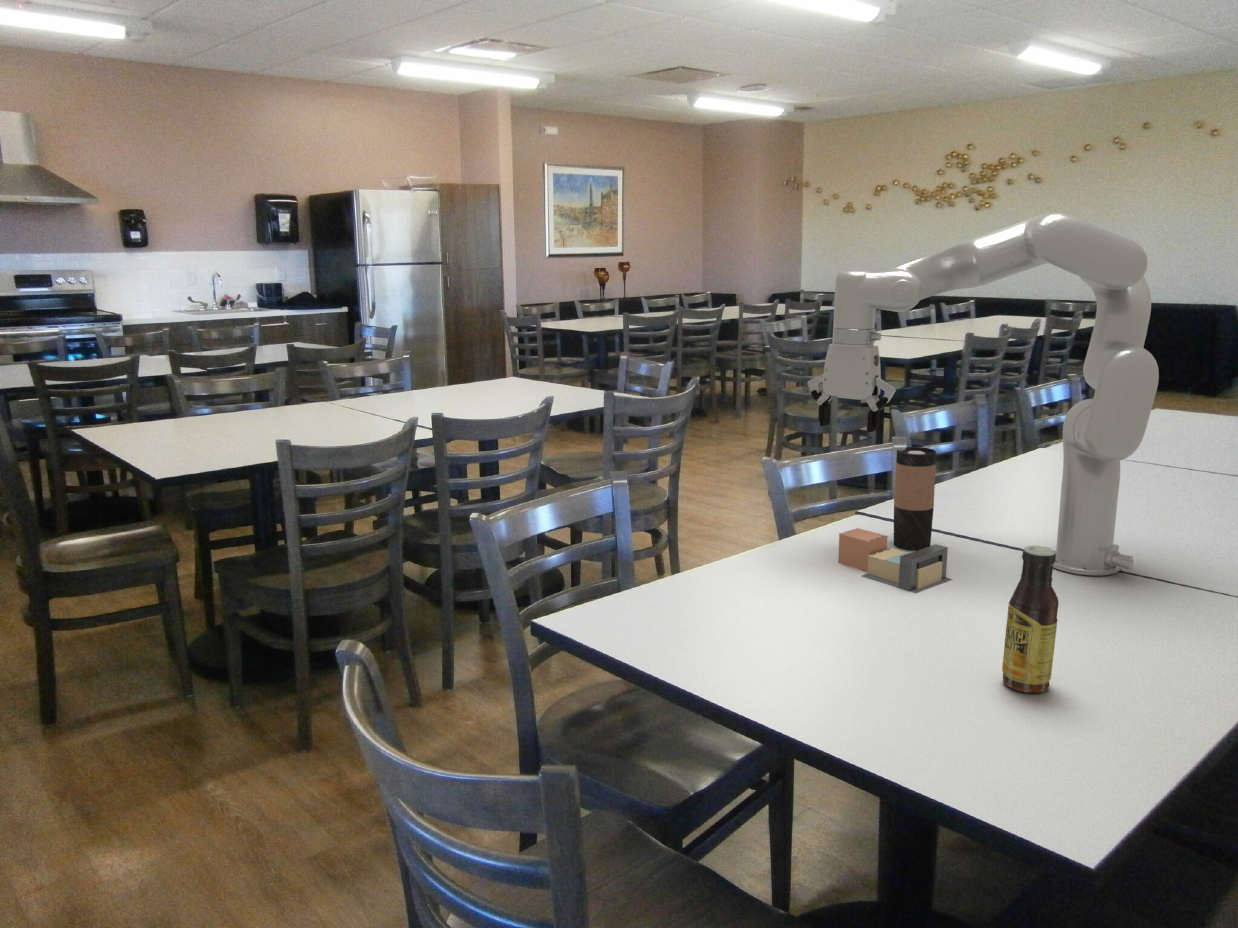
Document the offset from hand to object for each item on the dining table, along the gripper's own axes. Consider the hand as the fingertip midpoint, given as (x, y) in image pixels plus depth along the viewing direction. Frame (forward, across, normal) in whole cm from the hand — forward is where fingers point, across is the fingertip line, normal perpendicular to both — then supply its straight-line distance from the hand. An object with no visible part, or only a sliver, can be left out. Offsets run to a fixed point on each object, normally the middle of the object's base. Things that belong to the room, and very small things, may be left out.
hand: (848, 428), depth 179 cm
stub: (+26, -5, +2) cm, 27 cm away
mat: (+26, -15, +4) cm, 30 cm away
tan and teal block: (+26, -14, +4) cm, 30 cm away
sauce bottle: (+26, -45, +37) cm, 63 cm away
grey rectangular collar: (+26, -18, +5) cm, 32 cm away
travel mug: (+26, -8, -15) cm, 31 cm away
